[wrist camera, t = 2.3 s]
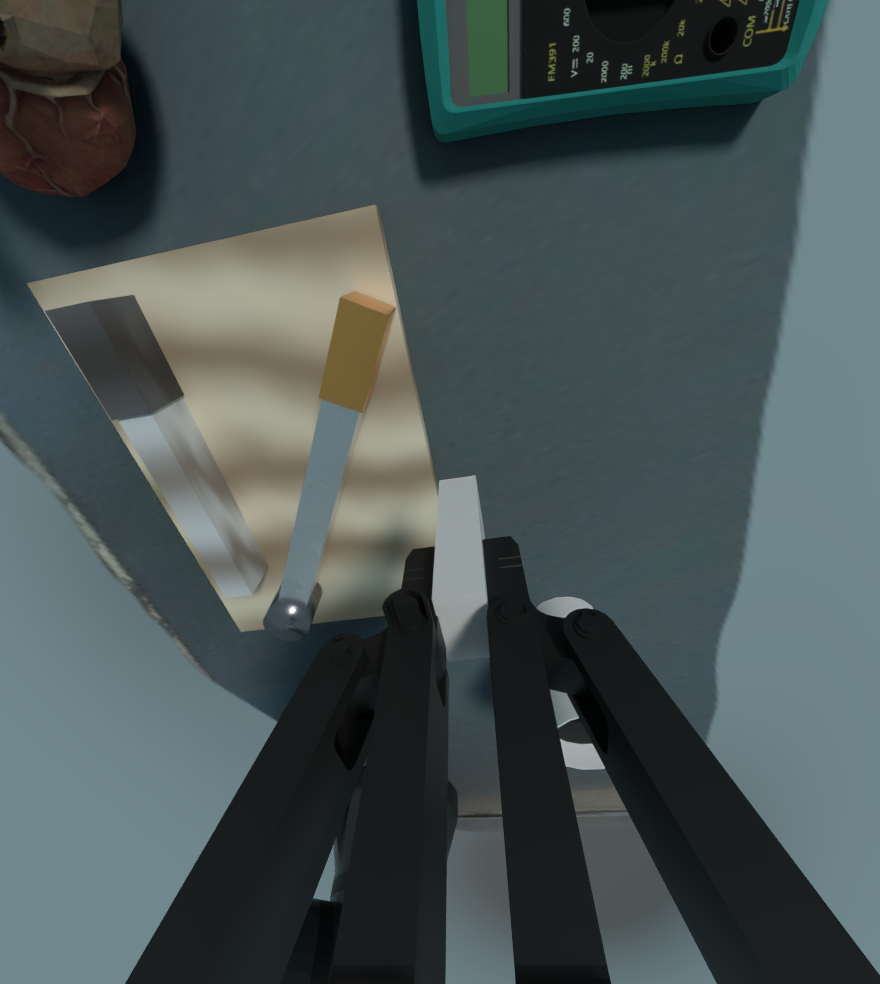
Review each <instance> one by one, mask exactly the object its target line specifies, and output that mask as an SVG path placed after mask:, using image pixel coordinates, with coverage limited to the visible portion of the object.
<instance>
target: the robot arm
mask: <svg viewBox="0 0 880 984" xmlns="http://www.w3.org/2000/svg"><path fill="white" fill-rule="evenodd" d="M382 609H383V612H384V615H385V618H386V621H387V623H388V626H389V627H388V628H387V629H385V630H384V631H382V632H380V633H378V634H376V635H374V636H371V637H369V638H366V639H363V640H361V639H360V638H359V637H358V636H357V635H355V634H352V633H345V634H340V635H337V636H335V637H333V638H331V639H330V640H329V641H327V642H326V643H325V644H324V645H323V647H322V648H321V649H320V651H319V652H318V654H317V656H316V657H315V659H314V661H313V663H312V664H311V666H310V668H309V669H308V671H307V673H306V675H305V676H304V678H303V680H302V681H301V683H300V685H299V687H298V688H297V690H296V692H295V693H294V695H293V697H292V699H291V700H290V702H289V704H288V705H287V707H286V709H285V711H284V712H283V714H282V716H281V717H280V719H279V721H278V723H277V724H276V726H275V728H274V729H273V731H272V733H271V735H270V736H269V738H268V740H267V741H266V743H265V745H264V747H263V748H262V750H261V752H260V754H259V755H258V757H257V759H256V761H255V762H254V764H253V765H252V767H251V769H250V771H249V772H248V774H247V776H246V778H245V779H244V781H243V783H242V784H241V786H240V788H239V789H238V791H237V793H236V795H235V796H234V798H233V800H232V801H231V803H230V805H229V807H228V808H227V810H226V812H225V814H224V815H223V817H222V819H221V820H220V822H219V824H218V825H217V827H216V829H215V831H214V832H213V834H212V836H211V838H210V839H209V841H208V843H207V845H206V846H205V848H204V850H203V851H202V853H201V855H200V856H199V858H198V860H197V861H196V863H195V865H194V867H193V868H192V870H191V872H190V873H189V875H188V877H187V879H186V880H185V882H184V884H183V886H182V887H181V889H180V891H179V892H178V894H177V896H176V897H175V899H174V901H173V903H172V904H171V906H170V908H169V910H168V911H167V913H166V915H165V916H164V918H163V920H162V921H161V923H160V925H159V927H158V928H157V930H156V932H155V933H154V935H153V937H152V939H151V940H150V942H149V944H148V945H147V947H146V949H145V951H144V952H143V954H142V956H141V957H140V959H139V961H138V963H137V964H136V966H135V968H134V969H133V971H132V973H131V975H130V977H129V978H128V980H127V981H126V983H125V984H445V969H446V877H447V859H448V855H449V851H450V847H451V844H452V840H453V835H454V832H455V828H456V824H457V819H458V796H457V792H456V790H455V789H454V787H453V786H452V785H451V784H450V783H449V782H448V693H449V678H448V673H447V669H446V655H447V658H448V662H450V661H461V660H472V659H484V658H490V667H491V679H492V691H493V704H494V716H495V729H496V741H497V754H498V766H499V779H500V791H501V803H502V816H503V828H504V839H505V851H506V852H505V853H506V865H507V878H508V891H509V902H510V915H511V928H512V940H513V953H514V965H515V980H516V984H611V981H610V977H609V972H608V968H607V964H606V958H605V953H604V949H603V944H602V939H601V934H600V930H599V925H598V919H597V915H596V910H595V905H594V900H593V895H592V891H591V886H590V881H589V876H588V871H587V867H586V862H585V857H584V852H583V847H582V842H581V838H580V833H579V828H578V823H577V818H576V814H575V809H574V804H573V799H572V794H571V789H570V785H569V780H568V775H567V770H566V765H565V761H564V756H563V751H562V746H561V741H560V736H559V732H558V727H557V722H556V717H555V712H554V708H553V703H552V698H551V693H550V690H555V691H559V692H563V693H567V696H568V697H569V699H570V701H571V703H572V705H573V707H574V709H575V711H576V713H577V715H578V717H579V719H580V721H581V723H582V724H583V726H584V728H585V730H586V732H587V734H588V736H589V738H590V740H591V742H592V744H593V746H594V748H595V749H596V751H597V753H598V755H599V757H600V759H601V761H602V763H603V765H604V767H605V769H606V771H607V773H608V775H609V776H610V778H611V780H612V782H613V784H614V786H615V788H616V790H617V792H618V794H619V796H620V798H621V800H622V802H623V803H624V805H625V807H626V809H627V811H628V813H629V815H630V817H631V819H632V821H633V823H634V825H635V827H636V828H637V830H638V832H639V834H640V836H641V838H642V840H643V842H644V844H645V846H646V848H647V850H648V852H649V854H650V855H651V857H652V859H653V861H654V863H655V865H656V867H657V869H658V871H659V873H660V875H661V877H662V878H663V881H664V882H665V884H666V886H667V888H668V890H669V892H670V894H671V896H672V898H673V900H674V901H675V904H676V905H677V907H678V909H679V911H680V913H681V915H682V917H683V919H684V921H685V923H686V925H687V927H688V929H689V931H690V932H691V934H692V936H693V938H694V940H695V942H696V944H697V946H698V948H699V950H700V952H701V954H702V956H703V958H704V960H705V961H706V963H707V965H708V967H709V969H710V971H711V973H712V975H713V977H714V979H715V981H716V983H717V984H880V975H879V974H878V972H877V971H876V970H875V968H874V967H873V966H872V964H871V963H870V962H869V961H868V959H867V958H866V957H865V955H864V954H863V953H862V951H861V950H860V949H859V947H858V946H857V945H856V943H855V942H854V941H853V939H852V938H851V937H850V935H849V934H848V933H847V931H846V930H845V929H844V928H843V926H842V925H841V923H840V922H839V921H838V919H837V918H836V917H835V915H834V914H833V913H832V911H831V910H830V909H829V907H828V906H827V905H826V903H825V902H824V901H823V900H822V898H821V897H820V895H819V894H818V893H817V891H816V890H815V889H814V888H813V886H812V885H811V884H810V882H809V881H808V880H807V878H806V877H805V876H804V874H803V873H802V872H801V870H800V869H799V868H798V866H797V865H796V864H795V862H794V861H793V860H792V858H791V857H790V856H789V854H788V853H787V852H786V850H785V849H784V848H783V846H782V845H781V844H780V842H779V841H778V840H777V838H776V837H775V836H774V834H773V833H772V832H771V831H770V829H769V828H768V826H767V825H766V824H765V822H764V821H763V820H762V818H761V817H760V816H759V814H758V813H757V812H756V810H755V809H754V808H753V806H752V805H751V804H750V802H749V801H748V800H747V799H746V797H745V796H744V795H743V793H742V792H741V791H740V789H739V788H738V787H737V785H736V784H735V783H734V781H733V780H732V779H731V777H730V776H729V775H728V773H727V772H726V771H725V769H724V768H723V767H722V765H721V764H720V763H719V761H718V760H717V759H716V757H715V756H714V755H713V753H712V752H711V751H710V749H709V748H708V747H707V745H706V744H705V743H704V741H703V740H702V739H701V737H700V736H699V735H698V733H697V732H696V731H695V729H694V728H693V727H692V725H691V724H690V723H689V722H688V720H687V719H686V718H685V716H684V715H683V714H682V712H681V711H680V710H679V708H678V707H677V706H676V704H675V703H674V702H673V700H672V699H671V698H670V696H669V695H668V694H667V692H666V691H665V690H664V688H663V687H662V686H661V684H660V683H659V682H658V680H657V679H656V678H655V676H654V675H653V674H652V672H651V671H650V670H649V668H648V667H647V666H646V664H645V663H644V662H643V660H642V659H641V658H640V656H639V655H638V654H637V652H636V651H635V650H634V648H633V647H632V646H631V644H630V643H629V642H628V641H627V639H626V638H625V637H624V635H623V634H622V633H621V631H620V630H619V629H618V627H617V626H616V625H615V623H614V622H613V621H612V620H611V619H610V618H609V617H608V616H607V615H606V614H604V613H602V612H600V611H598V610H595V609H588V608H583V609H576V610H574V611H572V612H570V613H569V614H568V615H567V616H566V617H565V618H562V617H556V616H551V615H548V614H545V613H543V612H541V611H539V610H538V609H537V608H535V607H534V605H533V604H532V603H531V601H530V598H529V595H528V590H527V585H526V580H525V575H524V570H523V566H522V561H521V556H520V551H519V546H518V544H517V543H516V542H515V541H514V540H513V539H512V537H511V536H507V537H499V538H491V539H485V536H484V527H483V521H482V514H481V508H480V501H479V495H478V488H477V482H476V476H468V477H461V478H454V479H447V480H440V481H439V494H438V509H437V525H436V541H435V546H434V547H426V548H417V549H412V551H411V552H410V554H409V555H408V557H407V558H406V560H405V567H404V574H403V581H402V587H401V589H399V590H397V591H395V592H393V593H392V594H390V595H389V596H388V597H387V598H386V599H385V601H384V603H383V605H382ZM366 758H367V761H366V767H365V768H363V765H364V763H365V760H366ZM362 768H363V769H362ZM333 844H334V860H335V875H334V881H333V887H332V892H331V897H330V901H325V900H319V899H314V898H313V896H314V894H315V891H316V888H317V886H318V883H319V880H320V878H321V875H322V873H323V870H324V868H325V865H326V862H327V860H328V857H329V854H330V852H331V849H332V846H333Z"/></svg>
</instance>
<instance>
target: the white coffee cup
mask: <svg viewBox="0 0 880 984" xmlns="http://www.w3.org/2000/svg"><path fill="white" fill-rule="evenodd" d="M536 608H537V609H538V610H539V611H541V612H543V613H545V614H548V615H551V616H556V617H562V618H565V617H566V616H567V615H568V614H569V613H570V612H572V611H574V610H576V609H583V608H588V609H593V607H592V606H591V605H590V604H588V603H587V602H585V601H584V600H582V599H578V598H574V597H556V598H553V599H550V600H547V601H545V602H542V603H541V604H540V605H538V606H537V607H536ZM550 693H551V698H552V703H553V708H554V712H555V717H556V722H557V727H558V732H559V736H560V741H561V746H562V751H563V756H564V761H565V765H566V767H572V768H578V769H583V770H588V769H605V767H604V765H603V763H602V761H601V759H600V757H599V755H598V753H597V751H596V749H595V748H594V746H593V744H592V742H591V740H590V738H589V736H588V734H587V732H586V730H585V728H584V726H583V724H582V723H581V721H580V719H579V717H578V715H577V713H576V711H575V709H574V707H573V705H572V703H571V701H570V699H569V697H568V696H567V693H563V692H559V691H555V690H550Z"/></svg>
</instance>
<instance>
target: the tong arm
mask: <svg viewBox="0 0 880 984" xmlns="http://www.w3.org/2000/svg"><path fill="white" fill-rule="evenodd" d="M395 311H396V307H395V306H392V305H390V304H387V303H384V302H382V301H379V300H377V299H374V298H371V297H369V296H366V295H364V294H361V293H359V292H356V291H352V292H350V293H348V294H346V295H343V296H341V297H340V300H339V304H338V309H337V314H336V318H335V323H334V328H333V332H332V337H331V342H330V347H329V351H328V356H327V361H326V365H325V370H324V375H323V380H322V384H321V389H320V394H319V398H320V399H322V401H321V405H320V410H319V415H318V419H317V424H316V428H315V433H314V438H313V442H312V447H311V451H310V456H309V461H308V465H307V470H306V474H305V479H304V484H303V488H302V493H301V498H300V502H299V507H298V511H297V516H296V521H295V525H294V530H293V534H292V539H291V544H290V548H289V553H288V557H287V562H286V567H285V571H284V576H283V581H282V583H281V585H280V587H279V589H278V591H277V593H276V595H275V597H274V599H273V601H272V603H271V605H270V607H269V609H268V611H267V613H266V615H265V617H264V619H263V626H264V628H265V630H266V631H267V632H268V633H269V634H270V635H271V636H273V637H275V638H277V639H279V640H283V641H298V640H301V639H303V638H304V637H305V636H306V635H307V634H308V631H309V629H310V626H311V623H312V621H313V618H314V615H315V612H316V610H317V607H318V604H319V602H320V599H321V596H322V588H321V586H320V584H319V583H318V582H317V581H318V578H319V575H320V571H321V568H322V564H323V560H324V557H325V553H326V549H327V546H328V542H329V539H330V535H331V531H332V528H333V524H334V521H335V517H336V513H337V510H338V506H339V502H340V499H341V495H342V492H343V488H344V484H345V481H346V477H347V474H348V470H349V466H350V463H351V459H352V455H353V452H354V448H355V445H356V441H357V437H358V434H359V430H360V427H361V423H362V419H363V416H364V412H365V408H366V405H367V403H368V401H369V399H370V397H371V396H372V393H373V389H374V386H375V382H376V379H377V375H378V372H379V368H380V364H381V361H382V357H383V354H384V350H385V347H386V343H387V339H388V336H389V332H390V329H391V325H392V322H393V318H394V314H395Z"/></svg>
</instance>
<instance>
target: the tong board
mask: <svg viewBox="0 0 880 984" xmlns="http://www.w3.org/2000/svg"><path fill="white" fill-rule="evenodd" d="M27 285H28V286H29V288H30V290H31V291H32V293H33V295H34V296H35V298H36V299H37V301H38V303H39V304H40V306H41V308H42V309H43V311H44V312H45V314H46V316H47V317H48V319H49V321H50V322H51V324H52V325H53V327H54V329H55V330H56V332H57V334H58V335H59V337H60V338H61V340H62V342H63V343H64V345H65V347H66V348H67V350H68V351H69V353H70V355H71V356H72V358H73V360H74V361H75V363H76V364H77V366H78V368H79V369H80V371H81V373H82V374H83V376H84V377H85V379H86V381H87V382H88V384H89V386H90V387H91V389H92V390H93V392H94V394H95V395H96V397H97V399H98V400H99V402H100V403H101V405H102V407H103V408H104V410H105V412H106V413H107V415H108V416H109V418H110V420H111V421H112V423H113V425H114V426H115V428H116V429H117V431H118V433H119V434H120V436H121V438H122V439H123V441H124V442H125V444H126V446H127V447H128V449H129V451H130V452H131V454H132V455H133V457H134V459H135V460H136V462H137V464H138V465H139V467H140V468H141V470H142V472H143V473H144V475H145V477H146V478H147V480H148V481H149V483H150V485H151V486H152V488H153V490H154V491H155V493H156V494H157V496H158V498H159V499H160V501H161V503H162V504H163V506H164V507H165V509H166V511H167V512H168V514H169V516H170V517H171V519H172V520H173V522H174V524H175V525H176V527H177V529H178V530H179V532H180V533H181V535H182V537H183V538H184V540H185V542H186V543H187V545H188V546H189V548H190V550H191V551H192V553H193V555H194V556H195V558H196V559H197V561H198V563H199V564H200V566H201V568H202V569H203V571H204V572H205V574H206V576H207V577H208V579H209V581H210V582H211V584H212V585H213V587H214V589H215V590H216V592H217V594H218V595H219V597H220V598H221V600H222V602H223V603H224V605H225V607H226V608H227V610H228V611H229V613H230V615H231V616H232V618H233V620H234V621H235V623H236V624H237V626H238V628H239V629H240V631H241V632H243V631H252V630H261V629H265V628H264V626H263V619H264V617H265V615H266V613H267V611H268V609H269V607H270V605H271V603H272V601H273V599H274V597H275V595H276V593H277V591H278V589H279V587H280V585H281V583H282V581H283V576H284V571H285V567H286V562H287V557H288V553H289V548H290V544H291V539H292V534H293V530H294V525H295V521H296V516H297V511H298V507H299V502H300V498H301V493H302V488H303V484H304V479H305V474H306V470H307V465H308V461H309V456H310V451H311V447H312V442H313V438H314V433H315V428H316V424H317V419H318V415H319V410H320V405H321V401H322V399H320V398H319V394H320V389H321V384H322V380H323V375H324V370H325V365H326V361H327V356H328V351H329V347H330V342H331V337H332V332H333V328H334V323H335V318H336V314H337V309H338V304H339V300H340V297H341V296H343V295H346V294H348V293H350V292H352V291H356V292H359V293H361V294H364V295H366V296H369V297H371V298H374V299H377V300H379V301H382V302H384V303H387V304H390V305H392V306H395V307H396V311H395V314H394V318H393V322H392V325H391V329H390V332H389V336H388V339H387V343H386V347H385V350H384V354H383V357H382V361H381V364H380V368H379V372H378V375H377V379H376V382H375V386H374V389H373V393H372V396H371V397H370V399H369V401H368V403H367V405H366V408H365V412H364V416H363V419H362V423H361V427H360V430H359V434H358V437H357V441H356V445H355V448H354V452H353V455H352V459H351V463H350V466H349V470H348V474H347V477H346V481H345V484H344V488H343V492H342V495H341V499H340V502H339V506H338V510H337V513H336V517H335V521H334V524H333V528H332V531H331V535H330V539H329V542H328V546H327V549H326V553H325V557H324V560H323V564H322V568H321V571H320V575H319V578H318V581H317V582H318V583H319V584H320V586H321V588H322V596H321V599H320V602H319V604H318V607H317V610H316V612H315V615H314V618H313V621H312V623H311V624H316V623H325V622H334V621H343V620H352V619H361V618H370V617H379V616H385V615H384V612H383V609H382V605H383V603H384V601H385V599H386V598H387V597H388V596H389V595H390V594H392V593H393V592H395V591H397V590H399V589H401V587H402V581H403V574H404V567H405V560H406V558H407V557H408V555H409V554H410V552H411V551H412V549H417V548H426V547H434V546H435V541H436V525H437V509H438V494H439V491H438V486H437V481H436V477H435V472H434V467H433V462H432V458H431V453H430V448H429V444H428V439H427V434H426V429H425V425H424V420H423V415H422V410H421V406H420V401H419V396H418V391H417V387H416V382H415V377H414V373H413V368H412V363H411V358H410V354H409V349H408V344H407V339H406V335H405V330H404V325H403V321H402V316H401V311H400V306H399V302H398V297H397V292H396V287H395V283H394V278H393V273H392V268H391V264H390V259H389V254H388V250H387V245H386V240H385V235H384V231H383V226H382V221H381V216H380V212H379V207H378V206H377V205H372V206H367V207H363V208H358V209H354V210H350V211H345V212H341V213H336V214H332V215H327V216H323V217H319V218H314V219H310V220H305V221H301V222H296V223H292V224H288V225H283V226H279V227H274V228H270V229H265V230H261V231H257V232H252V233H248V234H243V235H239V236H234V237H230V238H226V239H221V240H217V241H212V242H208V243H203V244H199V245H195V246H190V247H186V248H181V249H177V250H172V251H168V252H164V253H159V254H155V255H150V256H146V257H141V258H137V259H133V260H128V261H124V262H119V263H115V264H110V265H106V266H102V267H97V268H93V269H88V270H84V271H79V272H75V273H71V274H66V275H62V276H57V277H53V278H49V279H44V280H40V281H35V282H31V283H27Z"/></svg>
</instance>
